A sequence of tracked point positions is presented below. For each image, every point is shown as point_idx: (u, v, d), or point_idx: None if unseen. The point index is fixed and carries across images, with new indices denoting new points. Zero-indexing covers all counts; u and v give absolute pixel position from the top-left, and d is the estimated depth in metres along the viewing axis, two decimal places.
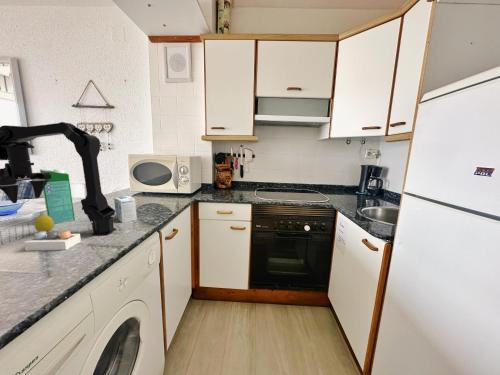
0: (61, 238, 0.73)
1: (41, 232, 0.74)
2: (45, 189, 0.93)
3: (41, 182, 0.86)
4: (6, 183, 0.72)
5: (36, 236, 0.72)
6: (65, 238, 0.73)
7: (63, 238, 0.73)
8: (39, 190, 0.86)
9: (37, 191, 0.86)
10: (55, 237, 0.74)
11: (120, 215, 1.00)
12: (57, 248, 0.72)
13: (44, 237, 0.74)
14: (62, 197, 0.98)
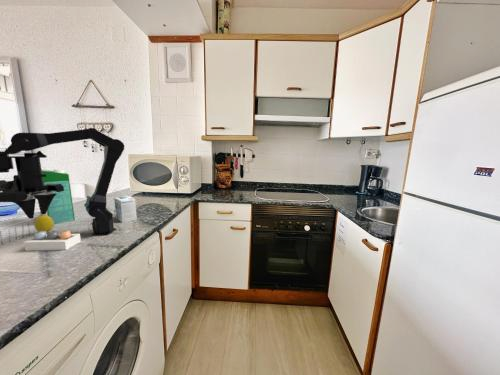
0: (61, 238, 0.73)
1: (41, 232, 0.74)
2: None
3: (48, 196, 0.75)
4: (16, 199, 0.63)
5: (36, 236, 0.72)
6: (65, 238, 0.73)
7: (63, 238, 0.73)
8: (45, 205, 0.75)
9: (43, 207, 0.75)
10: (55, 237, 0.74)
11: (120, 215, 1.00)
12: (57, 248, 0.72)
13: (44, 237, 0.74)
14: (62, 197, 0.98)
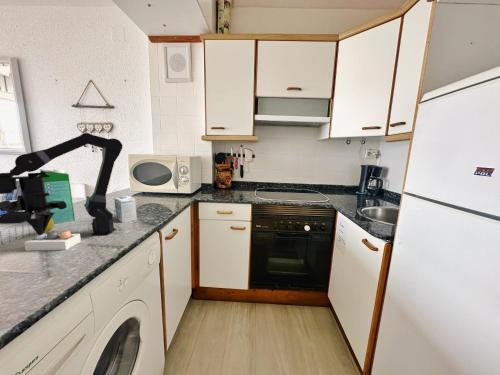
0: (61, 238, 0.73)
1: None
2: (45, 189, 0.93)
3: (45, 216, 0.74)
4: (20, 221, 0.64)
5: (36, 238, 0.72)
6: (65, 238, 0.73)
7: (63, 238, 0.73)
8: (43, 225, 0.74)
9: None
10: (55, 237, 0.74)
11: (120, 215, 1.00)
12: (57, 248, 0.72)
13: None
14: (62, 197, 0.98)
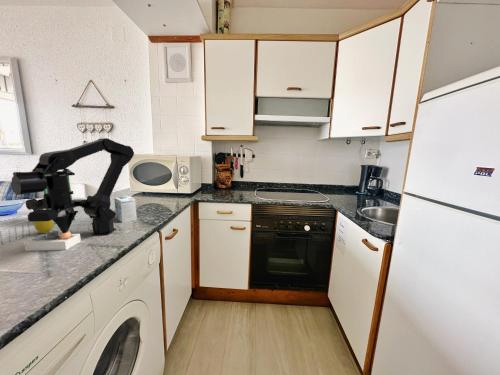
0: (61, 238, 0.73)
1: (42, 235, 0.74)
2: (45, 189, 0.93)
3: (70, 214, 0.74)
4: (48, 218, 0.64)
5: (37, 239, 0.73)
6: (65, 238, 0.73)
7: (63, 238, 0.73)
8: (67, 223, 0.74)
9: None
10: (55, 237, 0.74)
11: (120, 215, 1.00)
12: (57, 248, 0.72)
13: None
14: None
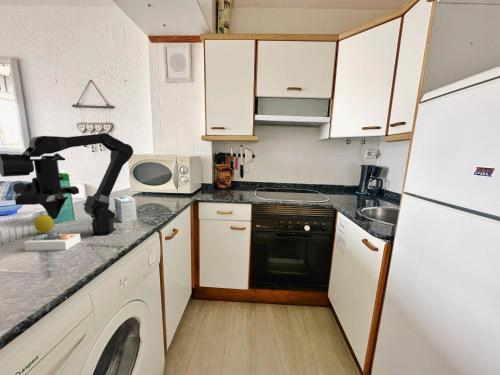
0: None
1: (42, 235, 0.74)
2: None
3: (59, 200, 0.73)
4: (37, 202, 0.63)
5: (37, 239, 0.73)
6: None
7: None
8: (57, 209, 0.73)
9: None
10: (55, 237, 0.74)
11: (120, 215, 1.00)
12: (57, 248, 0.72)
13: None
14: None
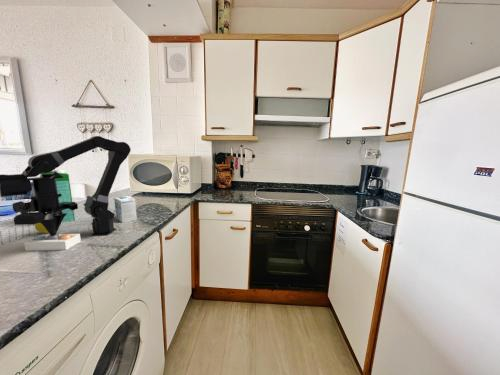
0: None
1: (42, 235, 0.74)
2: None
3: (58, 217, 0.74)
4: (34, 221, 0.64)
5: (37, 239, 0.73)
6: None
7: None
8: (55, 226, 0.74)
9: None
10: None
11: (120, 215, 1.00)
12: (57, 248, 0.72)
13: None
14: (62, 197, 0.98)
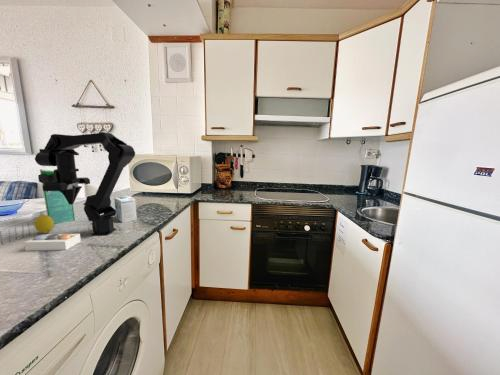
0: None
1: (42, 235, 0.74)
2: None
3: (76, 189, 0.87)
4: (60, 189, 0.77)
5: (37, 239, 0.73)
6: None
7: None
8: (73, 196, 0.87)
9: None
10: None
11: (120, 215, 1.00)
12: (57, 248, 0.72)
13: None
14: (62, 197, 0.98)
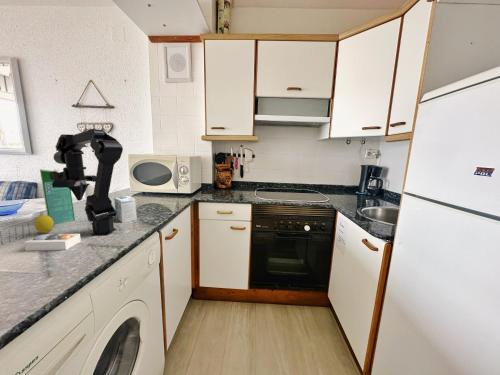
0: None
1: (42, 235, 0.74)
2: (45, 189, 0.93)
3: (83, 186, 0.92)
4: (68, 185, 0.82)
5: (37, 239, 0.73)
6: None
7: None
8: (81, 193, 0.92)
9: None
10: None
11: (120, 215, 1.00)
12: (57, 248, 0.72)
13: None
14: (62, 197, 0.98)
